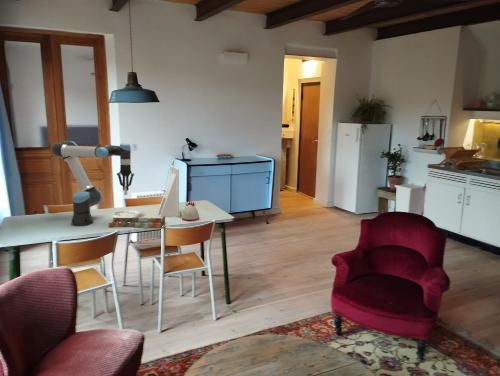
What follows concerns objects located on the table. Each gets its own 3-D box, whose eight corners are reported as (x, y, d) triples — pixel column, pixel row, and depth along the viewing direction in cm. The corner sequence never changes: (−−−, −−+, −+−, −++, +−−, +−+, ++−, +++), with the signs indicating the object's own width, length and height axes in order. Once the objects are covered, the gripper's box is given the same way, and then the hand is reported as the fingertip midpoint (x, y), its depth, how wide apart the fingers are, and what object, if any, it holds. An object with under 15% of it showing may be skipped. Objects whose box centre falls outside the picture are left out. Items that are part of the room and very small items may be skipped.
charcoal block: (137, 226, 305) (137, 221, 304) (139, 223, 312) (139, 218, 311) (147, 226, 306) (147, 221, 305) (148, 223, 312) (148, 218, 312)
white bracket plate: (155, 212, 343) (154, 166, 335) (172, 211, 350) (171, 165, 342) (161, 219, 326) (161, 169, 318) (179, 217, 332) (178, 169, 324)
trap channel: (108, 227, 299) (108, 220, 298) (113, 222, 314) (113, 215, 313) (162, 227, 302) (162, 221, 301) (165, 222, 316) (164, 216, 316)
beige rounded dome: (195, 222, 320) (195, 203, 318) (179, 220, 323) (179, 202, 320) (201, 217, 334) (201, 199, 331) (185, 216, 336) (185, 198, 334)
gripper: (115, 164, 302) (115, 195, 307) (132, 165, 303) (133, 196, 308) (118, 163, 310) (118, 193, 314) (135, 163, 310) (135, 194, 315)
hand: (125, 194), depth 311 cm, fingers closed
